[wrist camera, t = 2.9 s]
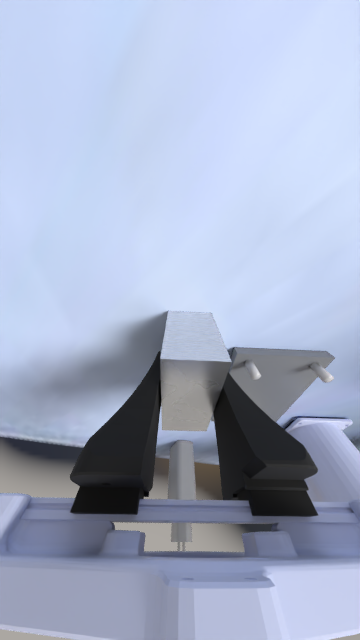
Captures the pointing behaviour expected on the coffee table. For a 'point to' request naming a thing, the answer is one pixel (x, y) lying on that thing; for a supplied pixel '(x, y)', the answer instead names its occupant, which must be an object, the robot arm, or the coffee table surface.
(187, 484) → the power adapter
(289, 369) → the grey plate with pegs
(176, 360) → the white block
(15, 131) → the coffee table surface
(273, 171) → the coffee table surface
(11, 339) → the coffee table surface
